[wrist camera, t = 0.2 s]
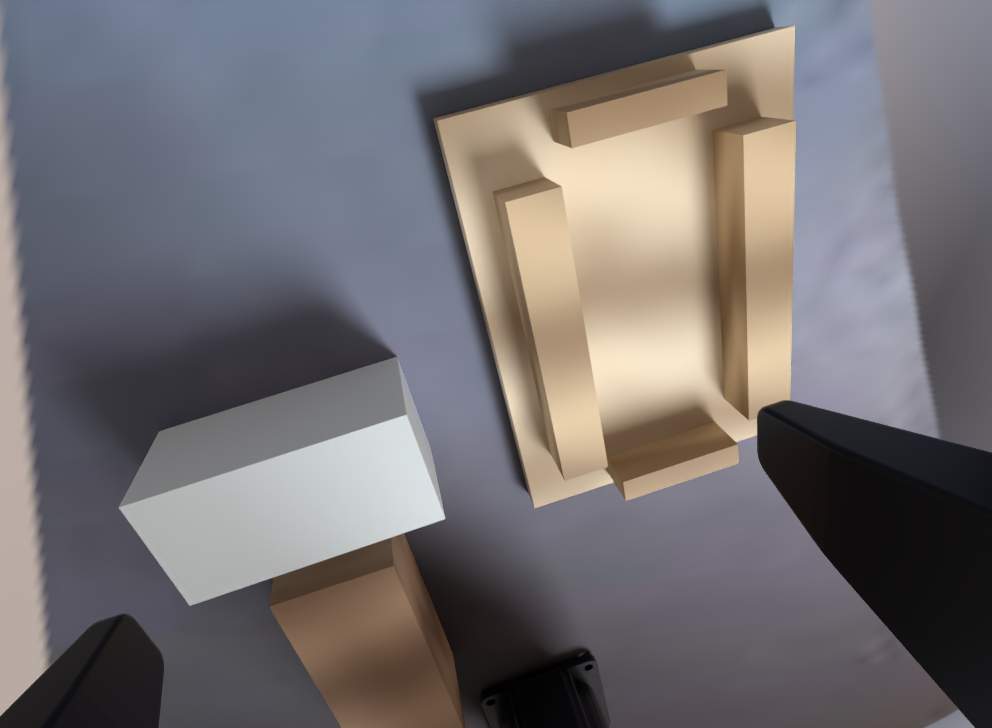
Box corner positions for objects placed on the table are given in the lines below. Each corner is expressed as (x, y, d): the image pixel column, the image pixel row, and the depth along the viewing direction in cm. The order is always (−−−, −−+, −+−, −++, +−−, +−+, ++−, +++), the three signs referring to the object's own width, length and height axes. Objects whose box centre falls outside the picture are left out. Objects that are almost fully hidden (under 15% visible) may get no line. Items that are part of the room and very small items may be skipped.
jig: (773, 413, 28) (814, 447, 25) (528, 494, 27) (547, 536, 24) (775, 27, 20) (834, 22, 18) (433, 118, 19) (445, 125, 17)
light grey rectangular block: (396, 354, 23) (406, 414, 19) (430, 447, 25) (445, 519, 21) (160, 428, 22) (118, 507, 18) (216, 517, 24) (189, 605, 20)
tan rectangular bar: (452, 650, 30) (467, 737, 26) (366, 680, 30) (368, 772, 26) (387, 488, 25) (393, 566, 21) (282, 521, 25) (268, 606, 21)
